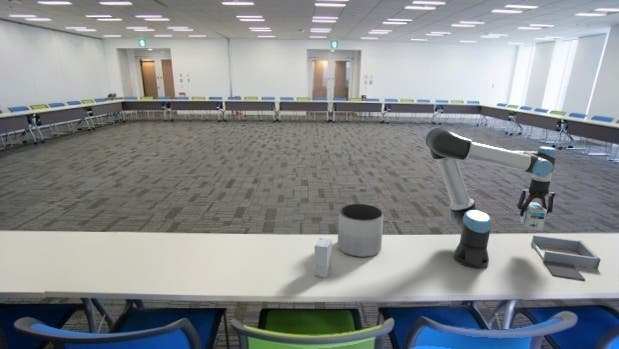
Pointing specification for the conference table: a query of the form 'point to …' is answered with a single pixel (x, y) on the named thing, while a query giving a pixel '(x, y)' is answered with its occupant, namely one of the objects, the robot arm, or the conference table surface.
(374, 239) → the planter
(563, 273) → the mat
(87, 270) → the conference table surface
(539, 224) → the light bulb box
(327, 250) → the skincare box
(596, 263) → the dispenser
